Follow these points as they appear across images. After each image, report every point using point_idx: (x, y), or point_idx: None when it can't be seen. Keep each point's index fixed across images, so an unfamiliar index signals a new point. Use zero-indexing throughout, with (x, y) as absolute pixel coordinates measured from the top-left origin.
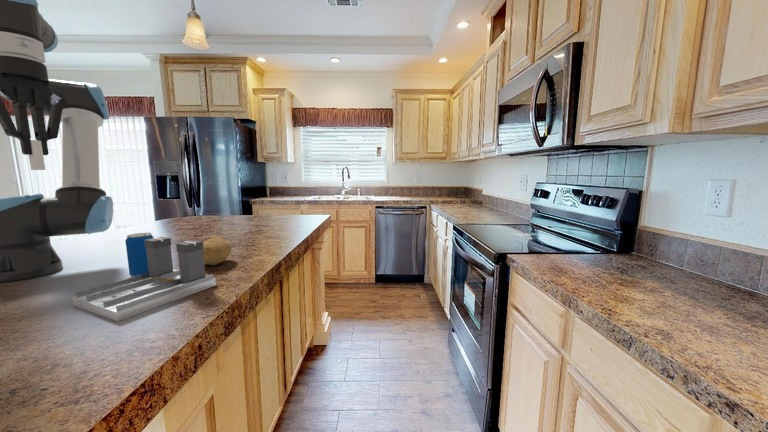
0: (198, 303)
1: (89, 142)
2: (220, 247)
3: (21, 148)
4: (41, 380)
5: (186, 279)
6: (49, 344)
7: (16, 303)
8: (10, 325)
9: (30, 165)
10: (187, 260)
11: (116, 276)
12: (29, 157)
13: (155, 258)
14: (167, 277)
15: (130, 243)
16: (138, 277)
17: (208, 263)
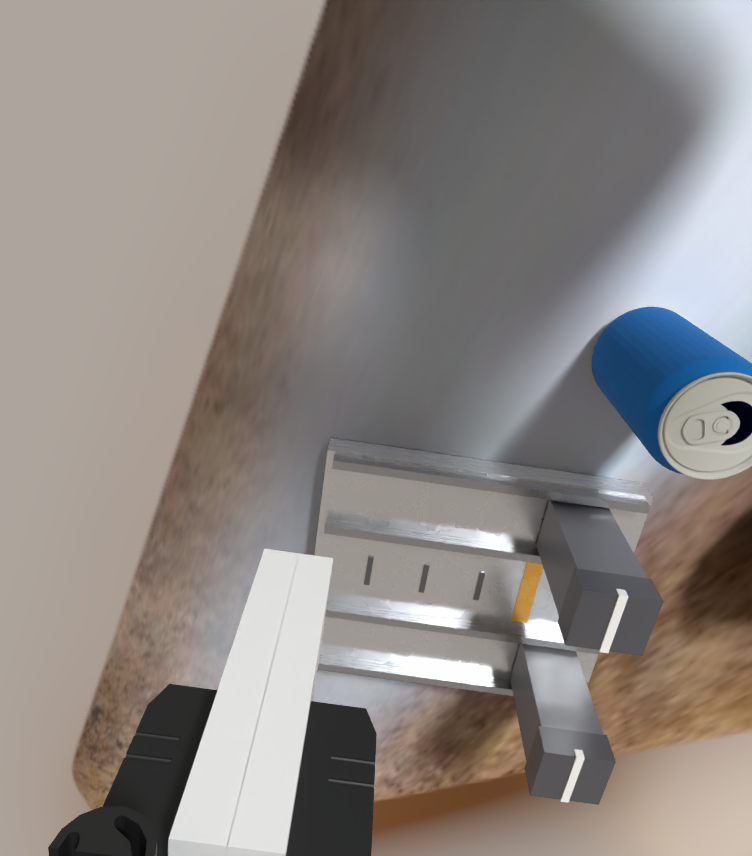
0: (445, 723)
1: None
2: None
3: (131, 748)
4: (126, 720)
5: (515, 674)
6: (186, 615)
7: (276, 224)
8: (191, 426)
9: (254, 581)
10: (523, 741)
11: (600, 253)
12: (234, 648)
13: (552, 592)
14: None
15: (639, 426)
16: (516, 492)
17: None
